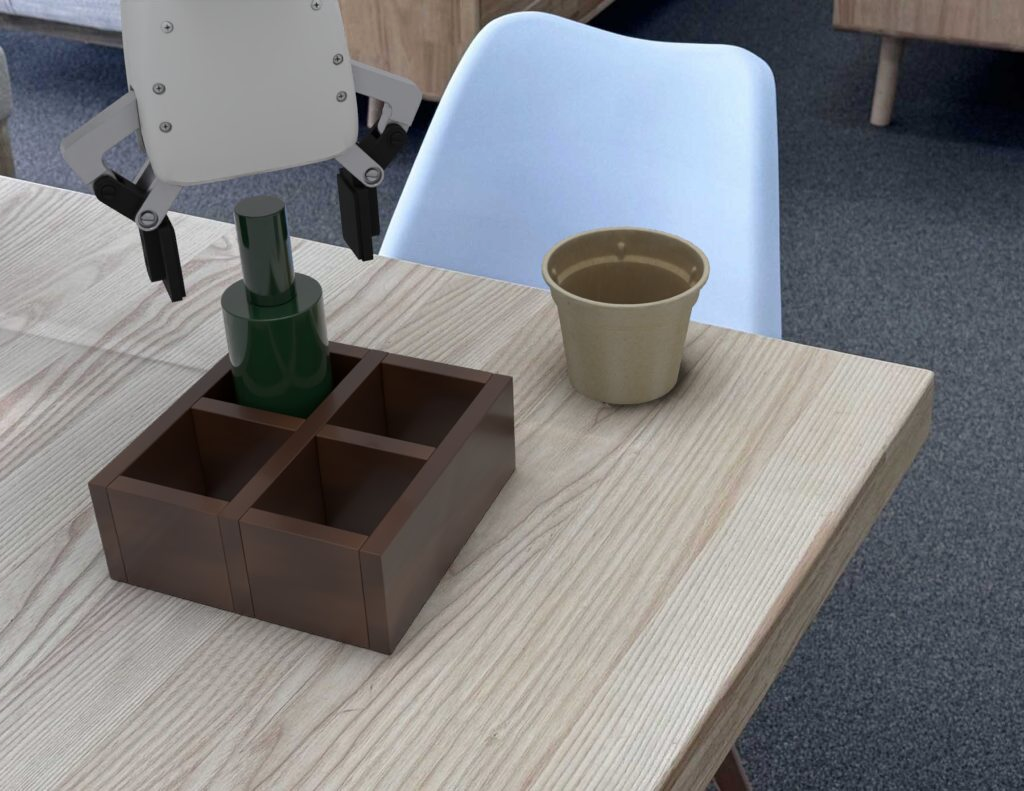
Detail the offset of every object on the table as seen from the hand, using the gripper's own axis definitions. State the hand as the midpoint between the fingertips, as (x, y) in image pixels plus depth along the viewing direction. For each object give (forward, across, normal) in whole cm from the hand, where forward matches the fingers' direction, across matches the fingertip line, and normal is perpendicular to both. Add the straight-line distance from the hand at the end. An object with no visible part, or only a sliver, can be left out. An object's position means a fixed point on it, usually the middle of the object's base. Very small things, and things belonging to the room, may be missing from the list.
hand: (267, 269), depth 71 cm
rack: (+12, 0, +5) cm, 14 cm away
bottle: (+12, 0, 0) cm, 12 cm away
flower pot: (+13, -20, +1) cm, 24 cm away
